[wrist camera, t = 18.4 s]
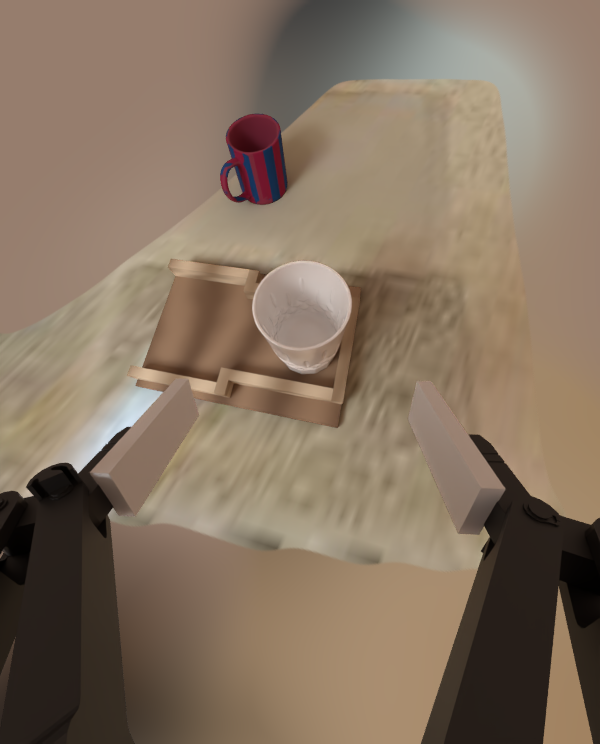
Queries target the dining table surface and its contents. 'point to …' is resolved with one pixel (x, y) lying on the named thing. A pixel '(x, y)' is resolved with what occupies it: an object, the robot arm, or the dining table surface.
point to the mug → (256, 159)
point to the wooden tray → (236, 349)
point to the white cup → (303, 313)
